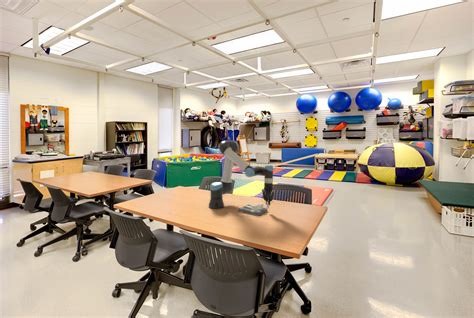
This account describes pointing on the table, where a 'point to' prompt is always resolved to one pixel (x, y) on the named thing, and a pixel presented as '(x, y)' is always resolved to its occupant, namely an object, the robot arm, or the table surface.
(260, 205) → the tab
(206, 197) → the table surface
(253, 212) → the switch board
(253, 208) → the tab
